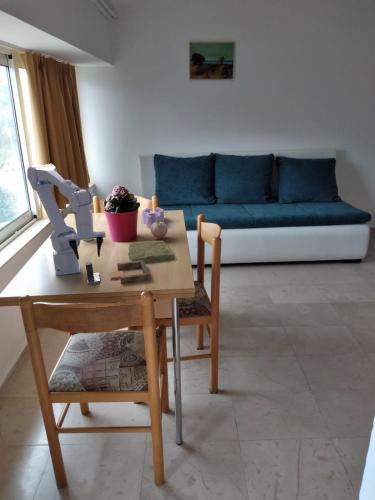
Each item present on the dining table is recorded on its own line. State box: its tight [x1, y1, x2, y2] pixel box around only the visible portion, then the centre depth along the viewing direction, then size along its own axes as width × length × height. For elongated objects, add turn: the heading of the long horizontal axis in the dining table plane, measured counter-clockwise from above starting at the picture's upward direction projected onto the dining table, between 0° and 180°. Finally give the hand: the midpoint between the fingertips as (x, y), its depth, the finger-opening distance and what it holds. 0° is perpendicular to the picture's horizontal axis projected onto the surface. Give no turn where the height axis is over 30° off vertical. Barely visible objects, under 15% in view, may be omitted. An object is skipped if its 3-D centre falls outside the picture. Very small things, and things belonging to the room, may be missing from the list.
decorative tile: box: [127, 239, 174, 264], centre depth 168 cm, size 19×20×4 cm
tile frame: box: [116, 260, 151, 285], centre depth 148 cm, size 11×15×2 cm
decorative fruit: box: [149, 220, 168, 240], centre depth 186 cm, size 9×8×10 cm
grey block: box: [85, 261, 101, 285], centre depth 143 cm, size 4×8×7 cm, turn 15°
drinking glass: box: [83, 209, 95, 242], centre depth 187 cm, size 7×7×15 cm
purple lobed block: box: [141, 206, 165, 229], centre depth 213 cm, size 20×12×7 cm, turn 7°
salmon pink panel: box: [109, 270, 125, 281], centre depth 146 cm, size 5×5×2 cm
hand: (88, 257), depth 141 cm, fingers open, 7 cm apart
